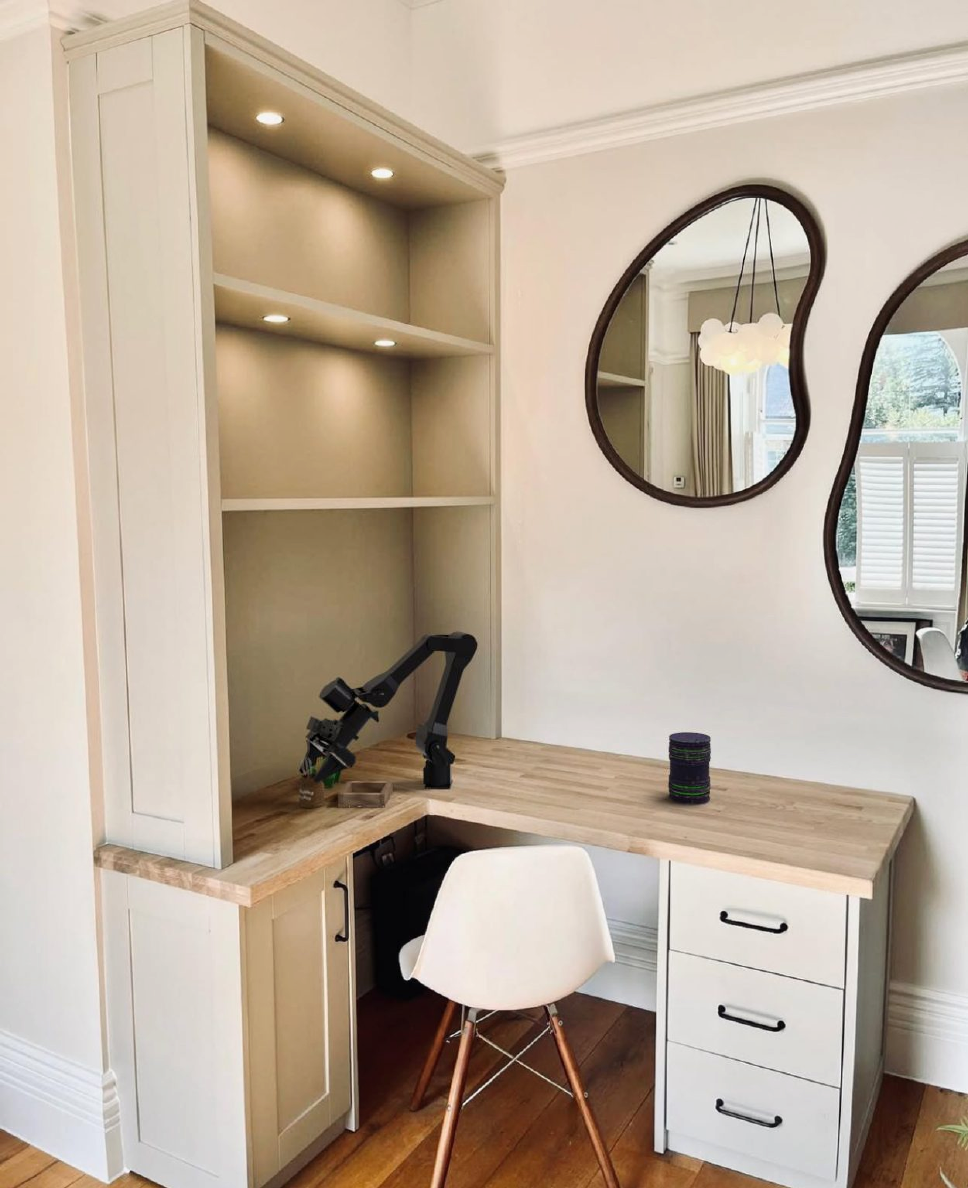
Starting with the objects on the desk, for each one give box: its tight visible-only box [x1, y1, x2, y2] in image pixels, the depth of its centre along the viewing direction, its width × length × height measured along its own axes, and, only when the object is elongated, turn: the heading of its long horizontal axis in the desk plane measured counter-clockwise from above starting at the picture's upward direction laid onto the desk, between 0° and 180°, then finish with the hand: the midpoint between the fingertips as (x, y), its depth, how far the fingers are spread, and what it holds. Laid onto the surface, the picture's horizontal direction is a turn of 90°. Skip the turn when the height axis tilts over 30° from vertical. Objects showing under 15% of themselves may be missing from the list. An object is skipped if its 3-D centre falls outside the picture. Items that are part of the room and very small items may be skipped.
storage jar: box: [667, 731, 712, 806], centre depth 237 cm, size 10×10×15 cm
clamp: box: [307, 757, 342, 789], centre depth 254 cm, size 12×6×9 cm, turn 164°
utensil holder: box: [298, 757, 326, 809], centre depth 236 cm, size 6×6×12 cm
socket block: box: [337, 780, 393, 808], centre depth 240 cm, size 11×11×4 cm
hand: (307, 776), depth 236 cm, fingers open, 9 cm apart
